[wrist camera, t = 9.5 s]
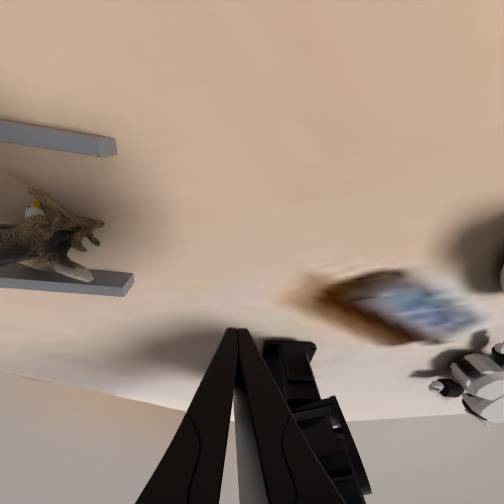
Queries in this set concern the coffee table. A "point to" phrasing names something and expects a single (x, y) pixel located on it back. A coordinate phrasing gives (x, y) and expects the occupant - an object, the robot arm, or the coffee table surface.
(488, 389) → the robot toy
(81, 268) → the eagle figurine
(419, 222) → the coffee table surface
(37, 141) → the pocket
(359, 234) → the coffee table surface
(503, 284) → the air freshener
